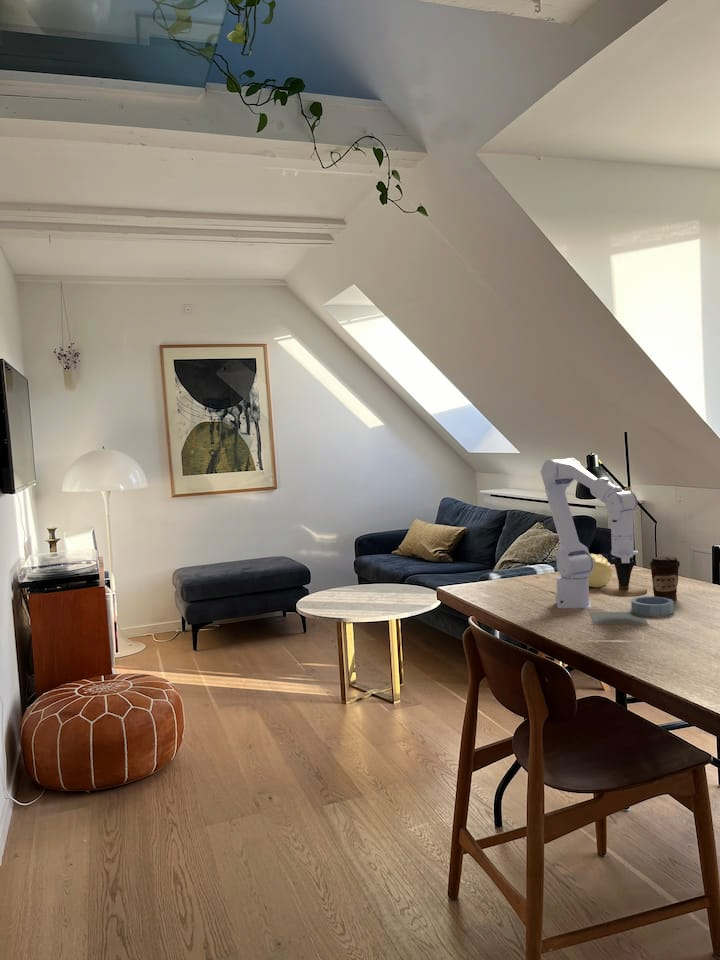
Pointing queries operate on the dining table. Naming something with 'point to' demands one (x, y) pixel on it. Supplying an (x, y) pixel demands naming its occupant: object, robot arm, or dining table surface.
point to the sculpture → (600, 571)
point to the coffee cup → (665, 576)
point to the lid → (623, 590)
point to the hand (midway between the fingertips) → (623, 584)
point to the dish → (652, 606)
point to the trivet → (617, 618)
